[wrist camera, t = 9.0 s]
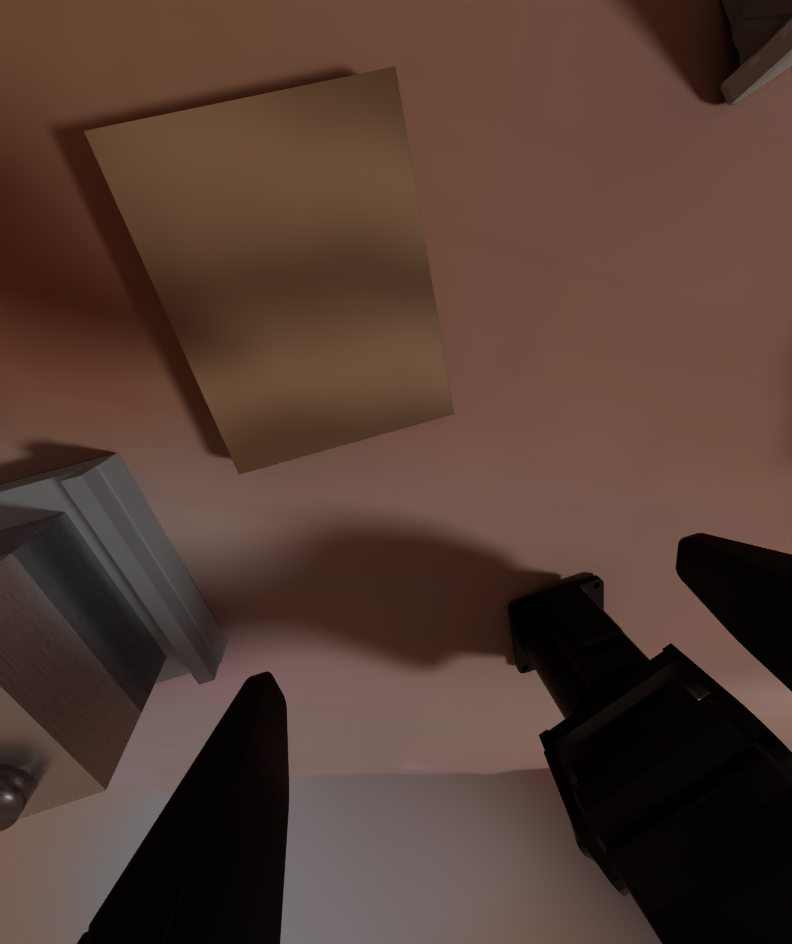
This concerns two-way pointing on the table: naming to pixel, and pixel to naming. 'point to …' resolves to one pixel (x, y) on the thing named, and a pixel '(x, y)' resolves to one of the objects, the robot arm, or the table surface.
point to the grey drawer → (64, 669)
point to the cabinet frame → (126, 556)
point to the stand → (288, 261)
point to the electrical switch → (758, 44)
